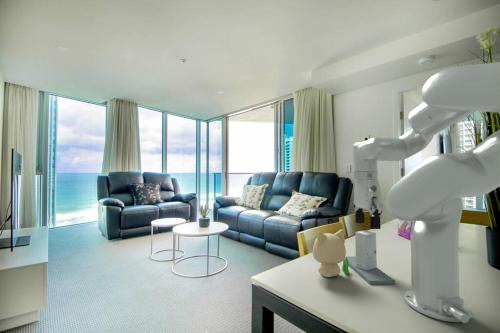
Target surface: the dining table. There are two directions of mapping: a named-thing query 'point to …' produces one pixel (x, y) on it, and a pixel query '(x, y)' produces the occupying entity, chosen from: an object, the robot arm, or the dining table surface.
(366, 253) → the skincare box
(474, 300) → the dining table surface
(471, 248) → the dining table surface
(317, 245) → the kitten
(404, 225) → the candy bar box
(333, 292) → the dining table surface
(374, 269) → the mat
